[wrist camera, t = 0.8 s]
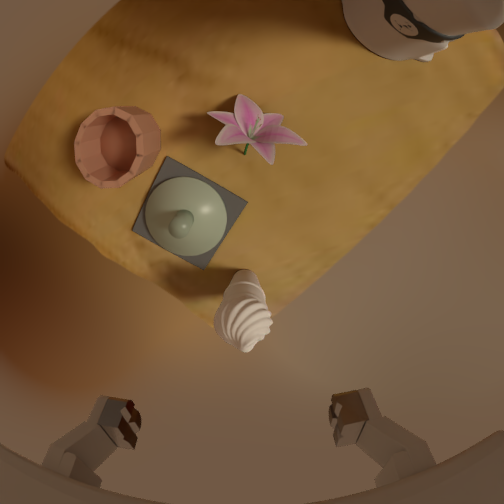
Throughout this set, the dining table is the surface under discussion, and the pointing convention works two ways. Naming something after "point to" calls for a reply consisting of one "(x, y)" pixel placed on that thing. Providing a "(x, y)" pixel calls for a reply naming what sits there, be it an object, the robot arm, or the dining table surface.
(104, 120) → the bowl
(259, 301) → the soft serve ice cream cone
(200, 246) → the lid
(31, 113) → the dining table surface
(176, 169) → the mat
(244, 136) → the lily
